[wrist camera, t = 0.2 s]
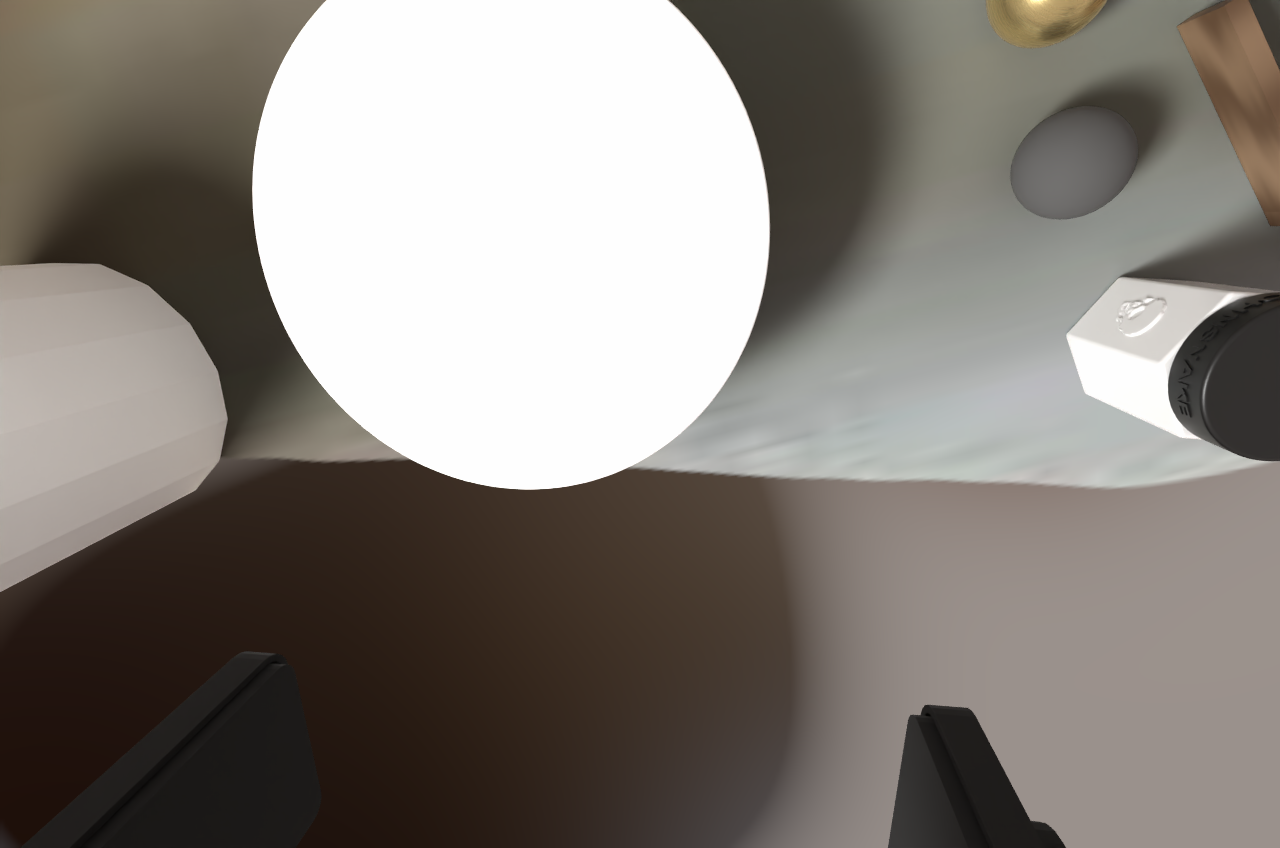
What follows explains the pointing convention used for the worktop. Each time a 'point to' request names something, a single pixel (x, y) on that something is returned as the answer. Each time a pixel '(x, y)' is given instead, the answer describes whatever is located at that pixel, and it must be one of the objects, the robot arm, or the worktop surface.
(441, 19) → the plate stack
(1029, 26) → the brass ball
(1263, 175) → the walnut housing
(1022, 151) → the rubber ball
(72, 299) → the container
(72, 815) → the robot arm
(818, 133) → the worktop surface
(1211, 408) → the jar
